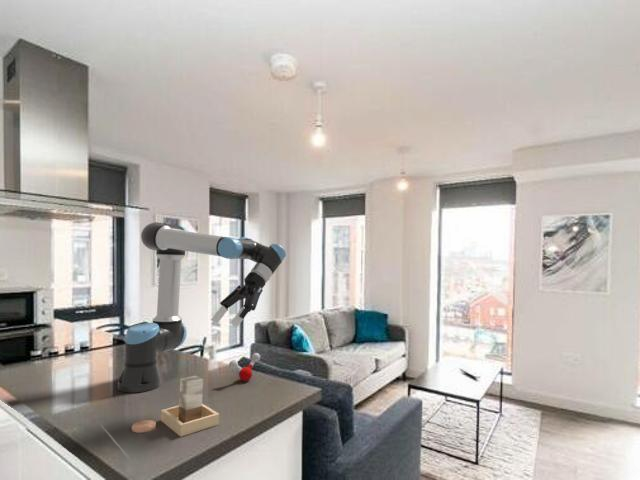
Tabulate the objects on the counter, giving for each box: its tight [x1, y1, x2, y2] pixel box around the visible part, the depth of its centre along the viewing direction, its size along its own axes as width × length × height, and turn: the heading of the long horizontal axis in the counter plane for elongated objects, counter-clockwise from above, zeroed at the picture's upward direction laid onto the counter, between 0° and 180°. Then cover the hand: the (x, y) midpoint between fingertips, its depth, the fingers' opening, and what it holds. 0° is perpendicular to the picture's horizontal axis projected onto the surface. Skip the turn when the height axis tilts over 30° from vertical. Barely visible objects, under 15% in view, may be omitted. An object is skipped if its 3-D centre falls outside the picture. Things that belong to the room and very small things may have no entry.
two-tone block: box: [178, 375, 204, 423], centre depth 114 cm, size 5×5×13 cm
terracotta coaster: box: [131, 419, 157, 434], centre depth 109 cm, size 6×6×1 cm
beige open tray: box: [160, 402, 220, 438], centre depth 114 cm, size 14×12×4 cm
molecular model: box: [228, 352, 261, 382], centre depth 155 cm, size 18×6×10 cm, turn 156°
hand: (223, 323), depth 128 cm, fingers open, 13 cm apart
